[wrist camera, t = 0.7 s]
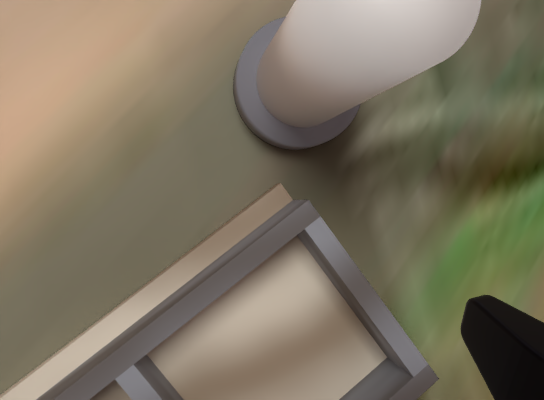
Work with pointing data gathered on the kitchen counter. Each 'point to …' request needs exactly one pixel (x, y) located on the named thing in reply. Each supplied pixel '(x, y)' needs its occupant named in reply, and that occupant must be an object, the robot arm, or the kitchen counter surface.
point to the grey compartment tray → (244, 324)
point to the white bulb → (340, 62)
